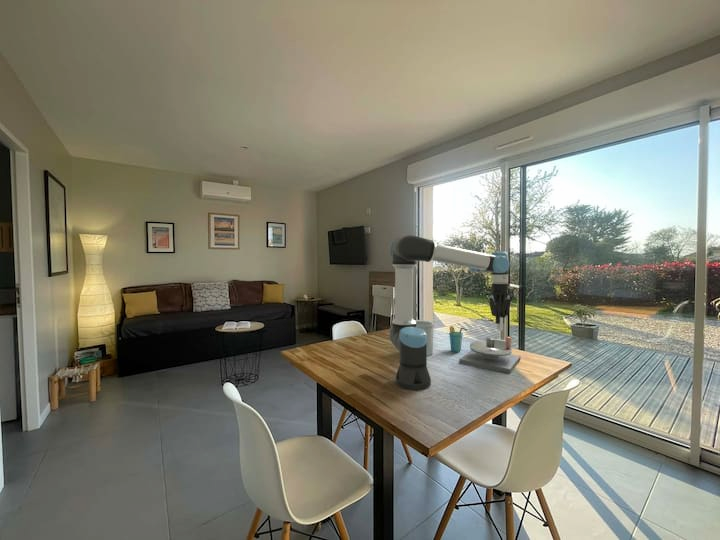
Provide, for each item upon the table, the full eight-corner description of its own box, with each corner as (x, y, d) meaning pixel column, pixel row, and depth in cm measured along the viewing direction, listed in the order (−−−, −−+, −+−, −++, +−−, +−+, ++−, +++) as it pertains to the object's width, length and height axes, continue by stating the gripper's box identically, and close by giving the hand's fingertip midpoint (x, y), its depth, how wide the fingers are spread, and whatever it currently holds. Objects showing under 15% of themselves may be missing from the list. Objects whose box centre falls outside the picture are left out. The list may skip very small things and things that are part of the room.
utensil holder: (418, 347, 185) (417, 318, 184) (439, 352, 174) (439, 322, 173) (402, 352, 175) (402, 322, 174) (423, 358, 164) (423, 326, 164)
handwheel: (464, 351, 157) (464, 335, 156) (476, 342, 172) (476, 328, 172) (506, 358, 144) (506, 342, 144) (515, 348, 160) (515, 333, 160)
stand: (459, 362, 157) (459, 352, 156) (474, 351, 175) (474, 341, 175) (510, 373, 142) (510, 361, 142) (520, 359, 161) (520, 349, 160)
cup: (471, 353, 172) (471, 327, 171) (461, 355, 168) (461, 329, 167) (452, 347, 184) (452, 323, 183) (443, 349, 180) (443, 324, 179)
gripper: (492, 284, 145) (493, 332, 146) (516, 283, 148) (516, 330, 149) (483, 282, 153) (483, 329, 153) (506, 281, 155) (506, 327, 156)
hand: (499, 330), depth 151 cm, fingers closed
